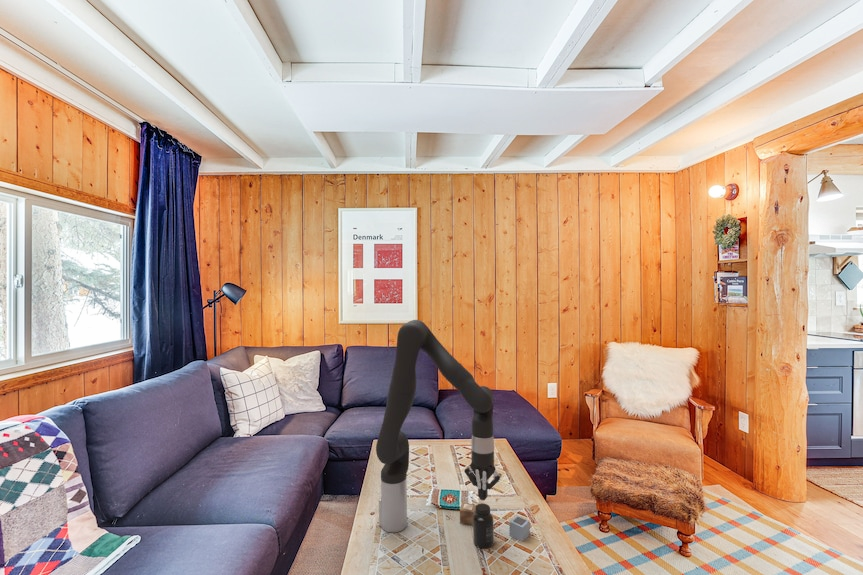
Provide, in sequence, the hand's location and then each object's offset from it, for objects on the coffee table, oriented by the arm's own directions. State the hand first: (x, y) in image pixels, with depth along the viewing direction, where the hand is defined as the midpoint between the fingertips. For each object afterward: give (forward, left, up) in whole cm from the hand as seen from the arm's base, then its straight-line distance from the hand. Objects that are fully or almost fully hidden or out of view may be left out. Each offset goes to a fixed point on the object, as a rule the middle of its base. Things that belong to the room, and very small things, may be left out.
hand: (482, 498), depth 133 cm
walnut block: (-9, +9, -15) cm, 20 cm away
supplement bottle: (0, 0, -15) cm, 15 cm away
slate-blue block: (+10, +9, -15) cm, 20 cm away
